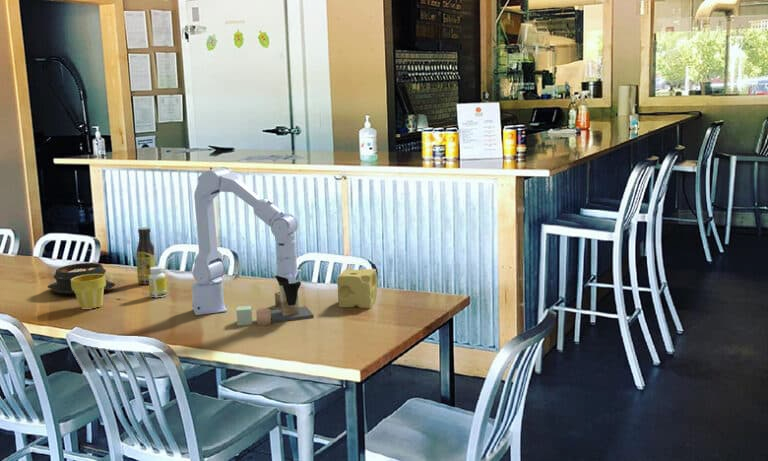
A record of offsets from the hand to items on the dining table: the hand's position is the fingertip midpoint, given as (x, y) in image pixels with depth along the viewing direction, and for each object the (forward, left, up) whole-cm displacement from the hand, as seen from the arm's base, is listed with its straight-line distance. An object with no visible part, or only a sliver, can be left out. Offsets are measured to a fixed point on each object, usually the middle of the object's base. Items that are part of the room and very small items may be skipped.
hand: (289, 301), depth 233 cm
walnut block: (0, +12, -4) cm, 13 cm away
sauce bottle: (-39, +62, -4) cm, 73 cm away
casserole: (-61, +61, -4) cm, 86 cm away
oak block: (0, 0, -3) cm, 3 cm away
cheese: (+22, +4, -4) cm, 23 cm away
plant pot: (-57, +37, -4) cm, 68 cm away
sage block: (-14, -2, -4) cm, 14 cm away
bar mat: (0, 0, -4) cm, 4 cm away
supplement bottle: (-36, +41, -4) cm, 55 cm away
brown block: (-8, -5, -4) cm, 11 cm away
